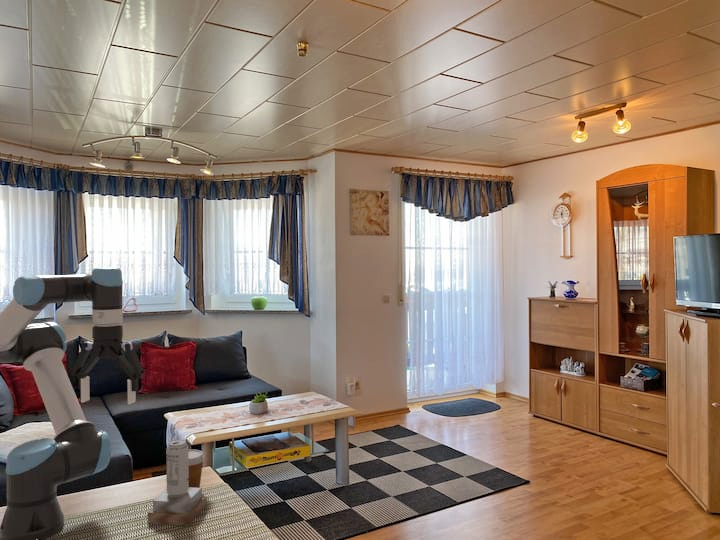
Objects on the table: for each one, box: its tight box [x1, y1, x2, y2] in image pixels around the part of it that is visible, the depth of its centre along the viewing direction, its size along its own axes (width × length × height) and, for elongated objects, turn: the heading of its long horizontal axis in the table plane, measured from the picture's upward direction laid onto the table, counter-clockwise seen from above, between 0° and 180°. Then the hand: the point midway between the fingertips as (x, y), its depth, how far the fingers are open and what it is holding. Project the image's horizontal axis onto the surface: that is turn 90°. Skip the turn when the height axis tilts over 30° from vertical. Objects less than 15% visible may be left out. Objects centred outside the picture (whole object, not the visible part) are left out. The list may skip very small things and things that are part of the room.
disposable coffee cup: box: [188, 449, 205, 488], centre depth 176 cm, size 10×10×12 cm
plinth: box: [147, 487, 207, 526], centre depth 160 cm, size 12×12×6 cm
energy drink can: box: [165, 439, 189, 498], centre depth 160 cm, size 6×6×15 cm
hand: (108, 402), depth 152 cm, fingers open, 13 cm apart
